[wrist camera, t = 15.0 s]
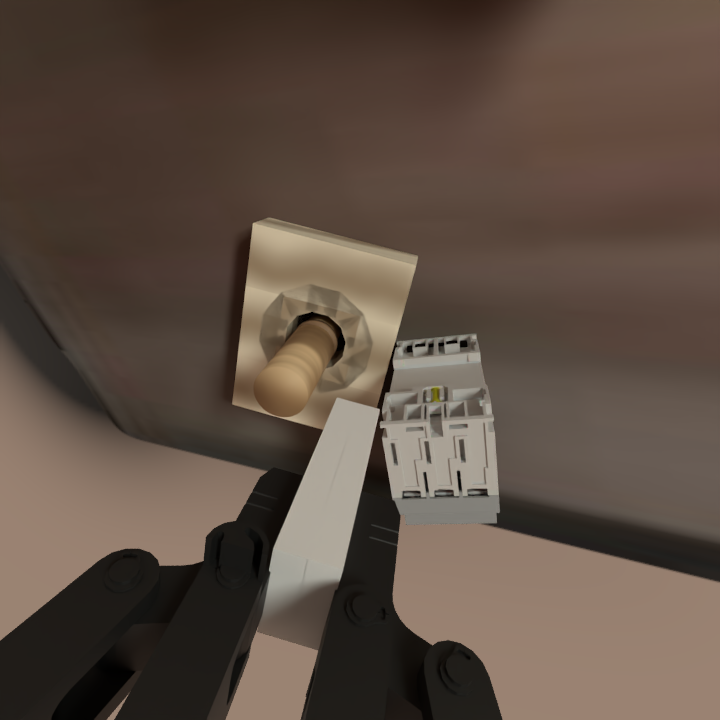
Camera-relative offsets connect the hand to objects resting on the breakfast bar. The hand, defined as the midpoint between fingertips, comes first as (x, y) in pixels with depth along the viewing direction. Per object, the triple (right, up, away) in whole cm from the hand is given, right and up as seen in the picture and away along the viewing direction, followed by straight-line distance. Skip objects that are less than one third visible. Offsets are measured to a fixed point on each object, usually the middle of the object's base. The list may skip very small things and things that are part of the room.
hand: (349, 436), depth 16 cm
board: (-3, +6, +29) cm, 30 cm away
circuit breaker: (+9, -2, +31) cm, 32 cm away
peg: (-3, +6, +29) cm, 30 cm away
